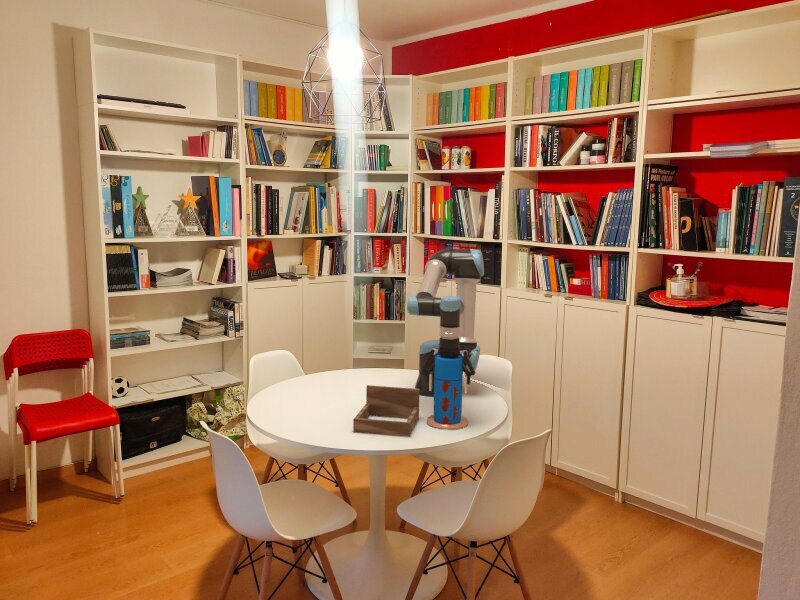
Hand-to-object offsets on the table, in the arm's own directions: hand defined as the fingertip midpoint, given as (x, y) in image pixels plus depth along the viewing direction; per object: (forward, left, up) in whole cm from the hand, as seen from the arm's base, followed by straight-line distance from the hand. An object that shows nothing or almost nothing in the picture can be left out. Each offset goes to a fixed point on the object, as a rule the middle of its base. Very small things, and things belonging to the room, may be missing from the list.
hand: (448, 391), depth 247 cm
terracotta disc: (0, 0, -12) cm, 13 cm away
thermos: (0, 0, -12) cm, 12 cm away
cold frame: (+8, -22, -12) cm, 27 cm away
